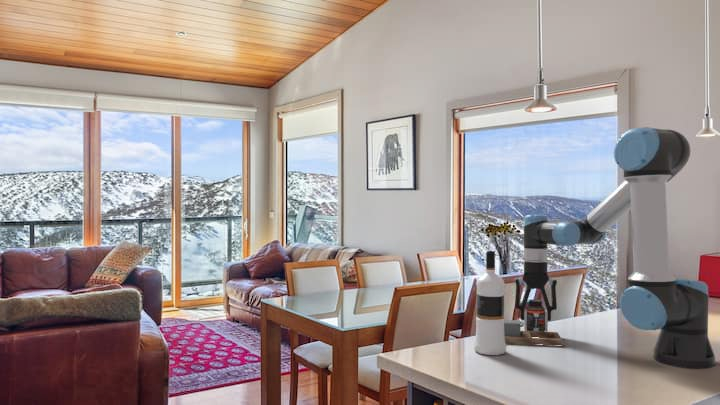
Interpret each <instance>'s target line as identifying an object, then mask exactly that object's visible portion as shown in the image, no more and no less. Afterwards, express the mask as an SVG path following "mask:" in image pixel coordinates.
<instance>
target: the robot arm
mask: <svg viewBox="0 0 720 405" xmlns="http://www.w3.org/2000/svg"><path fill="white" fill-rule="evenodd" d="M690 156H691V146H690V143H689V141H688V139H687V138H686V137H685V135H683V134H682V133H680V132H678V131H676V130H674V129H673V130H672V129H661V128H653V127H648V126H644V127H643V126H642V127H634V128H631V129H628V130H626V131H625V132H624V133H622V134H621V136H620V137H619V138H618V139H617V141H616V143H615V144H614V149H613V158H614V161H615V164H616V165H618V167H619V168H621V169H622V170H623V181H622V182H621V183H620V184H619V185H618V186H617V187H616V188H614V190H613V191H612V192H611V193H610V194H608V195H607V196H606V197H605V198H604V199H603V200H602V201H601V202H600V203H599V204H598V205H596V207H594V209H592V211H591V212H589V213H588V214H587V215H586V216H585V217H584V218H583V219H582V220H575V221H574V220H573V221H568V220H567V221H566V220H565V221H553V220H552V221H549V220H548V216H547V215H546V214H526V215H525V216H524V218H523V260H525V261H523V275H522V277H519V278H517V277H515V278H514V283H515V296H514V297H515V299H514V307H515V308H516V309H518V310H520V313H519V314H520V315H519V316H520V317H519V318H520V320H521V321H523V331H527V310H526V307H527V302H528V301H529V297H530V294H531V291H532V290H534V289H537V290H540V292H541V295H542V296H541V297H542V299H543V302H544V305H545V332H549V330H548V325H549V324H548V322H551V321H552V311H556V310H557V308H558V306H557V293H556V292H557V291H556V290H557V289H556V287H557V284H558V281H557V279H556V278H550V277H549V275H548V262H547V261H548V245H553V246H555V245H557V246H560V247H572V246H575V245H594V244H598V243H601V242H602V241H604V240H605V238H606V235H607V231H608V230H609V229H610V228H611V227H612V226H614V224H615V223H617V222H618V221H620V219H621V218H622V217H623V216H625V215H626V214H627V213H628V212H629V211H630V212H631V233H632V238H631V239H632V256H633V258H632V260H633V264H632V265H633V271H632V273H631V274H630V275H629V276H628V278H627V287H628V288H626V289H625V290H623V293H621V295H620V297H619V308H620V311H621V314H622V315H623V317H624V319H625V320H626V321H628V323H629V324H630V325H631V326H632V327H634V328H636V329H639V330H642V331H658V330H659V334H658V336H657V339H656V342H655V345H654V347H653V352H652V353H653V354H652V356H653V359H654V360H656V361H657V362H659V363H662V364H666V365H669V366H674V367H679V368H680V367H681V368H689V369H709V368H713V367H715V366H716V356H715V352H714V350H713V346H712V344H711V341H710V339H709V298H710V295H709V286H708V284H707V283H706V282H704V281H700V280H693V279H685V278H677V277H676V278H675V276H673V274H671V273H670V257H669V236H668V215H667V214H668V212H667V211H668V210H667V208H668V207H667V190H666V188H667V186H666V185H667V183H668V182H670V181H671V180H672V179H673V178H674V177H676V175H678V173H680V172H681V171H682V170H683V169H684V167H686V165H687V163H688V161H689V159H690ZM523 282H524V283H525V285H526V287H525V291H524V294H523V298H522V301H521V304H520V296H521V295H520V294H521V285H522V284H523ZM547 283H549V285H550V296H551V305H550V303H549V299H548V298H549V297H548V296H547V292H546V289H545V286H546V284H547Z"/></svg>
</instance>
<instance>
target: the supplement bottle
mask: <svg viewBox="0 0 720 405" xmlns="http://www.w3.org/2000/svg"><path fill="white" fill-rule="evenodd" d="M528 301H529V303H528V306H526V307H525V310H527V331H541V332H546V331H545V310H546V308H545V307H543V304H542V303H543V301H542V299H541V300H540V299H528Z"/></svg>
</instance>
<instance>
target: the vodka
mask: <svg viewBox="0 0 720 405" xmlns="http://www.w3.org/2000/svg"><path fill="white" fill-rule="evenodd" d="M485 267H486V268H485V273H484V274H482V275H481V276H479V277H478V278H477V279H476V282H475V285H476V317H475V324H476V326H475V327H476V329H475V340H474V344H473V346H474V351H475V352H476V353H478V354H479V355H484V356H490V355H491V356H493V357H495V355H496V356H501V354H502V355H503V354H505V353H506V352H507V344H506V343H505V334H504V321H505V320H506V318H505V295H506V293H505V289H506V284H505V281H504V279H503V277H500V276H499V275H498V274H497V273H496V252H495V251H493V250H487V251H486V253H485ZM491 356H490V357H491Z"/></svg>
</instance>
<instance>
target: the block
mask: <svg viewBox="0 0 720 405" xmlns="http://www.w3.org/2000/svg"><path fill="white" fill-rule="evenodd" d="M520 331H521V322H520V320H519V319H518V320H517V319H515V320H513V319H505V321H504V334H505V336H510V337H520Z"/></svg>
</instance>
